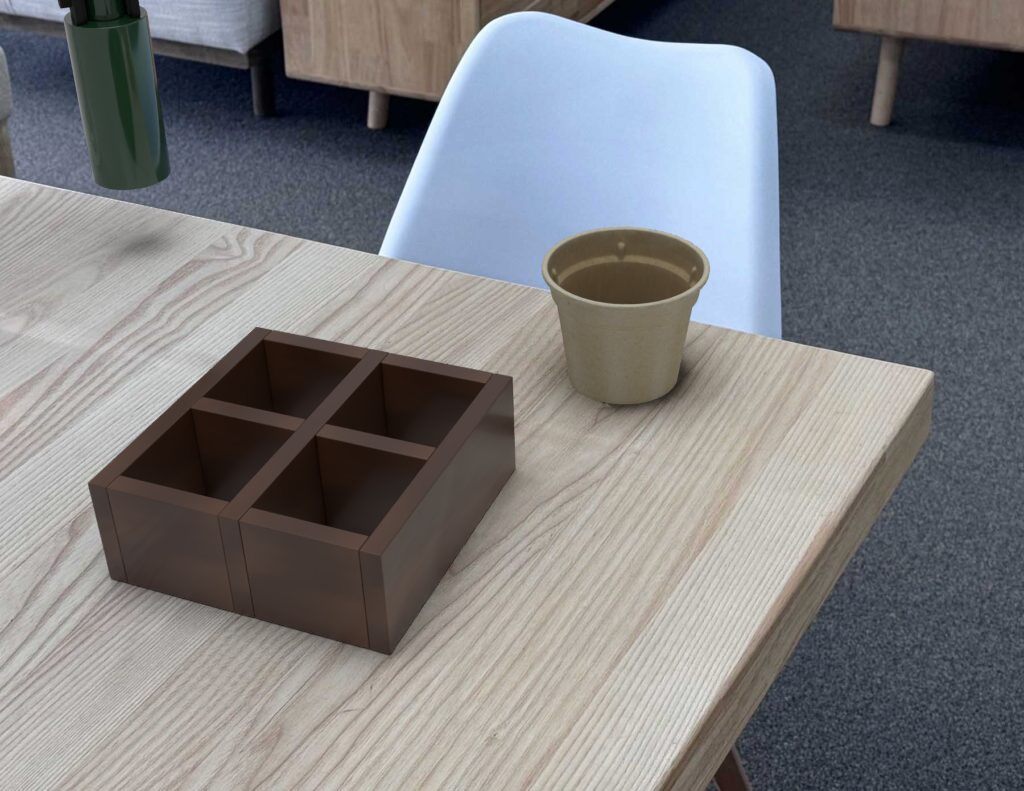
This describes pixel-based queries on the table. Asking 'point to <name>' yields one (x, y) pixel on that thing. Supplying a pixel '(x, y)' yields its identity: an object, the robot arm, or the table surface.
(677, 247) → the flower pot
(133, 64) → the bottle
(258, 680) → the table surface
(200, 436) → the box
